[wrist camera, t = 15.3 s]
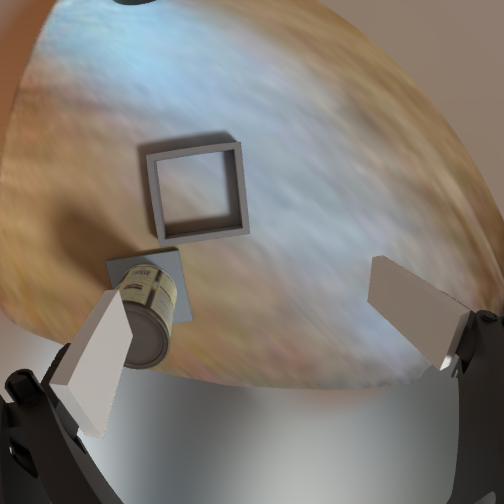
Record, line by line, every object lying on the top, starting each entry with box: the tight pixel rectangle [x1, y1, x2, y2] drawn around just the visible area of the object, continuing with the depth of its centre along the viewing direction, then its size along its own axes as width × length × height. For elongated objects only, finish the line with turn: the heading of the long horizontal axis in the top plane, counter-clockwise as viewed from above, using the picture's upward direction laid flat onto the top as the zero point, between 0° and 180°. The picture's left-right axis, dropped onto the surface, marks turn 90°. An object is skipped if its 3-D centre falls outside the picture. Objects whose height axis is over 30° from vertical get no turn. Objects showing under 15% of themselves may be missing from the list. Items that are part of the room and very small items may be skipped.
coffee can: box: [115, 264, 177, 369], centre depth 37 cm, size 10×10×14 cm
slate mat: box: [105, 249, 193, 323], centre depth 44 cm, size 13×13×1 cm
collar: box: [146, 142, 250, 247], centre depth 40 cm, size 14×14×2 cm
